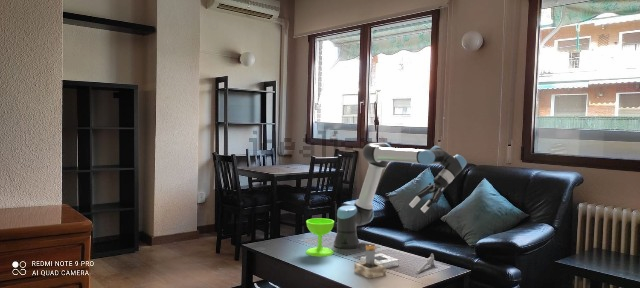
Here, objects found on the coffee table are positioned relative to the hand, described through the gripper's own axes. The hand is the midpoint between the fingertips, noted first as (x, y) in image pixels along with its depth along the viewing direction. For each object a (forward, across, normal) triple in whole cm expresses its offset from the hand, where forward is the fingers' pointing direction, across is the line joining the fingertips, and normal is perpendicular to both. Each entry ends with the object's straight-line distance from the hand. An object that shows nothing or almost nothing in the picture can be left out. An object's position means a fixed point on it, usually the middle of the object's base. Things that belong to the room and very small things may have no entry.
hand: (416, 208), depth 235 cm
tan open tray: (+41, -8, -1) cm, 41 cm away
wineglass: (+52, +32, +10) cm, 62 cm away
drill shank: (+41, -8, -1) cm, 41 cm away
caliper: (+20, -7, -23) cm, 31 cm away
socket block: (+34, +6, -8) cm, 35 cm away
